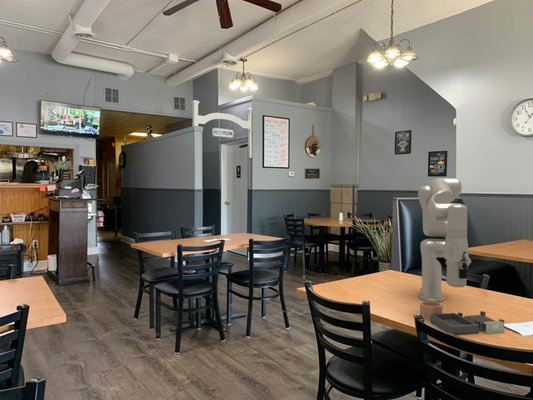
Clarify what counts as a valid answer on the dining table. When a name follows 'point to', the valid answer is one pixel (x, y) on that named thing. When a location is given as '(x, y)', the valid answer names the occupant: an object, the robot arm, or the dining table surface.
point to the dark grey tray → (454, 323)
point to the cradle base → (490, 325)
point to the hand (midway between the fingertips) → (456, 275)
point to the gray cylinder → (454, 274)
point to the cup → (430, 308)
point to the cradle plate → (478, 319)
